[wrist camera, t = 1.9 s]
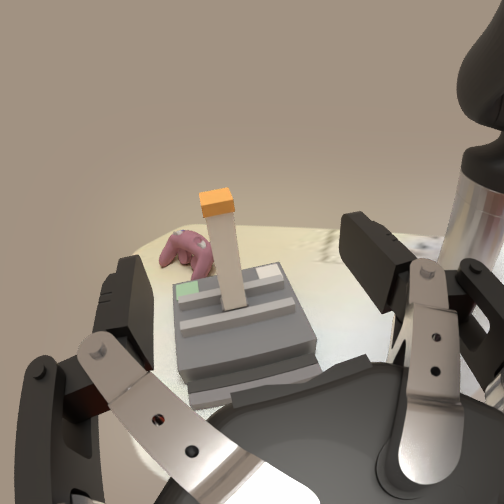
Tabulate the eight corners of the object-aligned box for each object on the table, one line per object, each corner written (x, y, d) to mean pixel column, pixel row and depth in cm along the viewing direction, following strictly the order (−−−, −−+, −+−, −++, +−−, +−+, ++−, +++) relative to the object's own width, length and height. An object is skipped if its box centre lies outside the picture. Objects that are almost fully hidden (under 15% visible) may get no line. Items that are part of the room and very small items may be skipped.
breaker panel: (279, 277, 43) (278, 253, 41) (314, 353, 32) (317, 329, 29) (178, 300, 41) (169, 276, 39) (185, 384, 30) (173, 363, 28)
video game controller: (216, 284, 46) (224, 241, 44) (194, 289, 42) (201, 243, 40) (177, 262, 51) (182, 223, 49) (155, 265, 48) (160, 224, 46)
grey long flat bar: (312, 359, 32) (313, 352, 31) (321, 379, 29) (323, 373, 28) (190, 388, 30) (187, 382, 29) (193, 410, 27) (189, 405, 27)
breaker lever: (245, 297, 36) (229, 187, 28) (250, 314, 34) (234, 199, 25) (221, 303, 36) (197, 193, 27) (224, 319, 34) (200, 205, 25)
